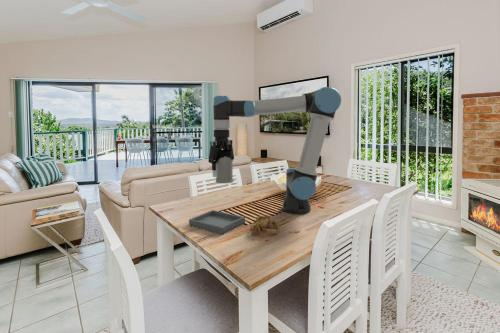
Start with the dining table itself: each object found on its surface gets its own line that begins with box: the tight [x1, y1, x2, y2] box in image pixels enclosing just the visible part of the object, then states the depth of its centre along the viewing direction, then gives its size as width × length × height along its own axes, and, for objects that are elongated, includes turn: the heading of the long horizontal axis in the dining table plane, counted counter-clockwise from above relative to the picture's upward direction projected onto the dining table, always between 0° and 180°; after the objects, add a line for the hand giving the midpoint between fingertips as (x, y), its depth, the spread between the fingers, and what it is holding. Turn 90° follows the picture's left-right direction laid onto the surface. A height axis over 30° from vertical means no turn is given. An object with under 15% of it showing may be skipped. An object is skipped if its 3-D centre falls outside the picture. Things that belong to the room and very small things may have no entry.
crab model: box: [248, 215, 280, 238], centre depth 132 cm, size 15×13×6 cm
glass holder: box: [215, 149, 234, 184], centre depth 146 cm, size 9×14×15 cm, turn 14°
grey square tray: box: [188, 209, 246, 235], centre depth 140 cm, size 20×17×3 cm
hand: (221, 175), depth 146 cm, fingers closed on glass holder, 9 cm apart
